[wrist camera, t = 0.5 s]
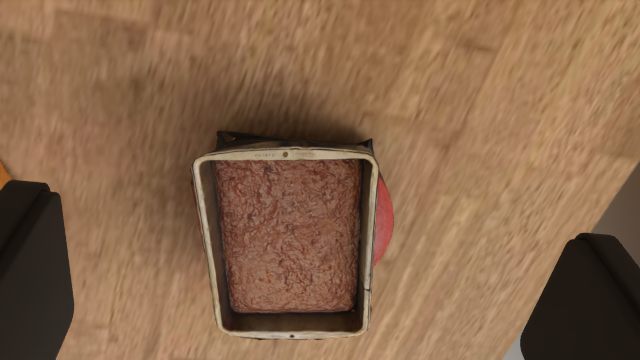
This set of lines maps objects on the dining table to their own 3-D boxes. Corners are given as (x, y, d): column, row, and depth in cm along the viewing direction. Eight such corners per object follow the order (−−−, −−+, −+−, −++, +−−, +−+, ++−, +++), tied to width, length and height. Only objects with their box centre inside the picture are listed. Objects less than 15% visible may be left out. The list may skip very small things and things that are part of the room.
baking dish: (204, 252, 50) (199, 354, 42) (192, 80, 38) (181, 179, 31) (363, 249, 52) (384, 344, 44) (398, 84, 40) (435, 177, 33)
